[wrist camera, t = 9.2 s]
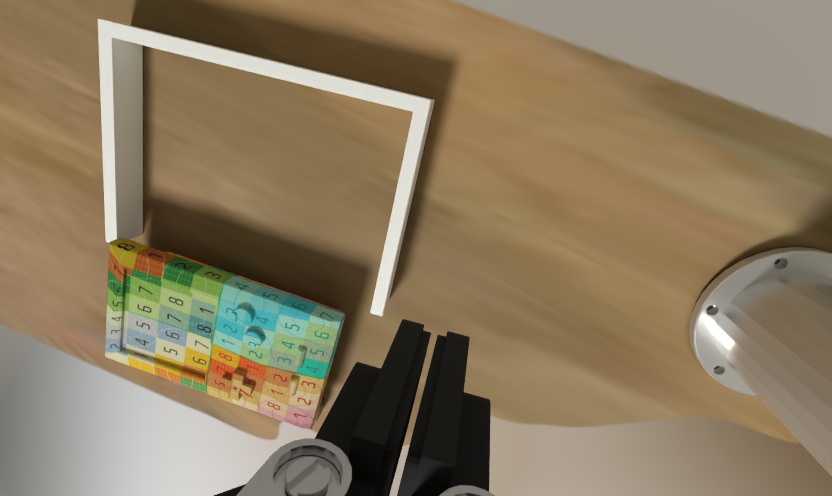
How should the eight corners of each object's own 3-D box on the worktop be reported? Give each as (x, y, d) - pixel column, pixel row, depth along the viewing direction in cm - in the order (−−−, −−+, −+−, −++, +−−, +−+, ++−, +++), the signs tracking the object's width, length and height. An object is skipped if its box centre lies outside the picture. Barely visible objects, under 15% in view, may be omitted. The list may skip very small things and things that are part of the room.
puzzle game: (307, 436, 38) (96, 362, 38) (325, 401, 42) (135, 335, 43) (337, 327, 34) (100, 245, 34) (353, 300, 38) (143, 228, 39)
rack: (435, 99, 32) (431, 100, 29) (389, 299, 38) (382, 316, 35) (130, 25, 33) (97, 18, 30) (132, 231, 39) (105, 241, 36)
